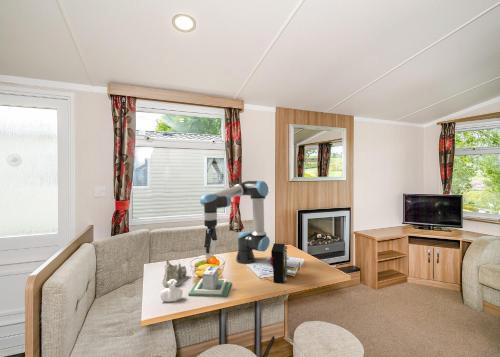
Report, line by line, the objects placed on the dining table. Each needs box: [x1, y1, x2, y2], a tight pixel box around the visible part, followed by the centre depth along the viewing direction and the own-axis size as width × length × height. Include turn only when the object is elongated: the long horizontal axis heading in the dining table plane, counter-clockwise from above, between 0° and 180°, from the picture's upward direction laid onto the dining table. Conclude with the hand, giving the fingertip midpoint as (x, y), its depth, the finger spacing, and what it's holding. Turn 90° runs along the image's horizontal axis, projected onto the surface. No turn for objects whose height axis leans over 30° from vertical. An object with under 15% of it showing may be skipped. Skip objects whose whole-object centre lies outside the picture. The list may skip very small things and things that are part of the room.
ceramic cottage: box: [162, 258, 188, 289], centre depth 146 cm, size 16×16×15 cm
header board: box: [188, 278, 232, 298], centre depth 134 cm, size 16×22×3 cm
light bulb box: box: [202, 266, 220, 290], centre depth 133 cm, size 11×7×11 cm, turn 171°
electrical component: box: [269, 243, 288, 284], centre depth 150 cm, size 18×10×20 cm, turn 168°
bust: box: [159, 279, 184, 303], centre depth 124 cm, size 12×8×11 cm
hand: (211, 254), depth 135 cm, fingers open, 13 cm apart
